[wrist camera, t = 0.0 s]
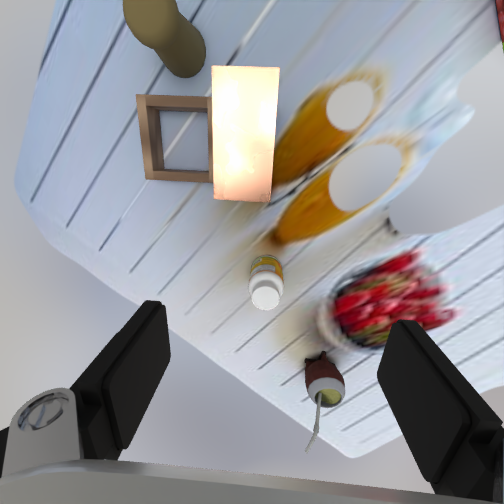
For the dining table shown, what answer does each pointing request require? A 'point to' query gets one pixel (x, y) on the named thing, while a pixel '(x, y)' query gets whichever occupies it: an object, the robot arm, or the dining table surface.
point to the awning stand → (243, 131)
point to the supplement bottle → (266, 282)
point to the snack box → (501, 18)
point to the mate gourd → (323, 387)
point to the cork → (167, 34)
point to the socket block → (153, 141)
